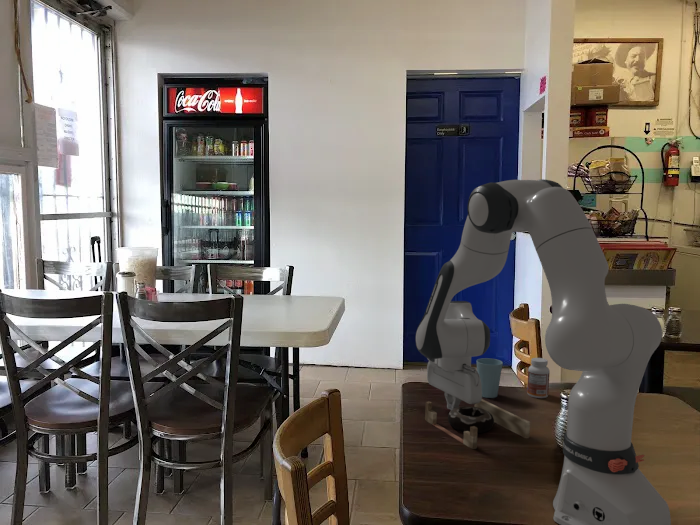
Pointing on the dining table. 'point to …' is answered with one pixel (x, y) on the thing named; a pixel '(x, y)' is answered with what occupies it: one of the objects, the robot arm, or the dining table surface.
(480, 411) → the donut
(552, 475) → the dining table surface
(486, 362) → the cup
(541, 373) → the pill bottle
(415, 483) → the dining table surface
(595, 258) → the robot arm
